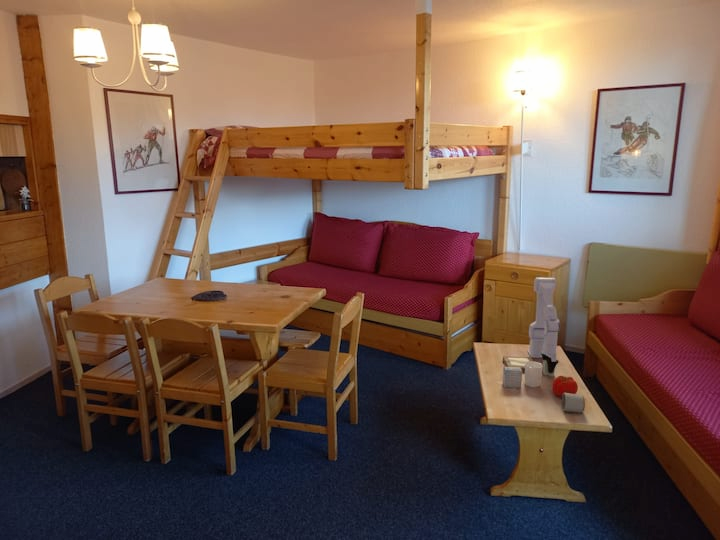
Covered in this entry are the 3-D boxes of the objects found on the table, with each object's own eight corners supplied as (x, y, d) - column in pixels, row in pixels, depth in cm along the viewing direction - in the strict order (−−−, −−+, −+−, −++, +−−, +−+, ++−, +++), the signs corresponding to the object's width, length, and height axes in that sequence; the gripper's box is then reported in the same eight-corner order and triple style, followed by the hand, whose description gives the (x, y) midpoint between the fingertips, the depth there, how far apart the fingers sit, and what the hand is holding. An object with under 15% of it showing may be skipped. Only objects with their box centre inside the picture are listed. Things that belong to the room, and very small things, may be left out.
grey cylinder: (584, 416, 214) (586, 398, 212) (564, 414, 215) (565, 397, 214) (579, 404, 224) (580, 388, 222) (559, 402, 225) (560, 386, 224)
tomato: (581, 400, 227) (583, 381, 225) (559, 402, 226) (560, 383, 224) (568, 389, 238) (569, 372, 236) (546, 391, 236) (547, 373, 234)
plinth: (502, 360, 271) (503, 356, 270) (529, 360, 270) (530, 356, 269) (508, 371, 257) (508, 367, 256) (537, 372, 256) (537, 367, 256)
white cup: (520, 384, 243) (522, 364, 240) (528, 379, 248) (529, 359, 246) (536, 389, 238) (538, 369, 235) (544, 384, 243) (545, 364, 241)
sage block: (542, 371, 257) (543, 360, 256) (551, 371, 257) (552, 360, 256) (544, 375, 253) (545, 363, 252) (554, 375, 253) (555, 363, 251)
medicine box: (519, 384, 243) (520, 366, 241) (521, 388, 239) (522, 370, 237) (502, 383, 244) (503, 366, 242) (503, 387, 240) (505, 370, 238)
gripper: (538, 338, 259) (536, 363, 262) (546, 349, 245) (544, 375, 248) (552, 338, 258) (550, 363, 261) (561, 349, 244) (559, 375, 247)
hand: (548, 369), depth 254 cm, fingers open, 7 cm apart
